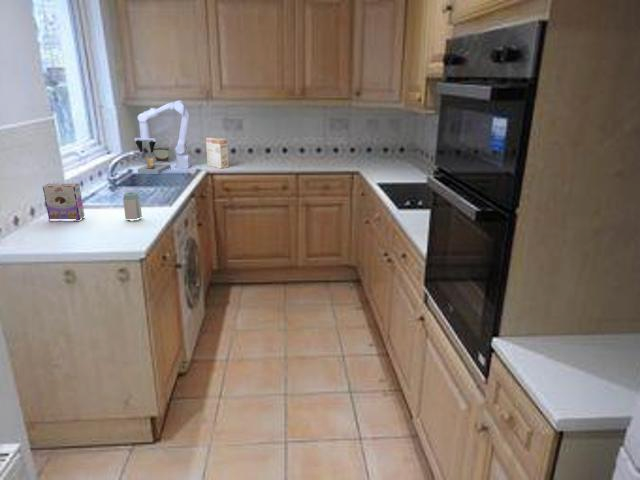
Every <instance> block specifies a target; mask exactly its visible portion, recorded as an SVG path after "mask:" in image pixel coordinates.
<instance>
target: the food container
mask: <svg viewBox="0 0 640 480" xmlns="http://www.w3.org/2000/svg"><path fill="white" fill-rule="evenodd" d="M170 151H171V148H170V147H168V146H154V149H153V153H154V157H155V162H157V163H170Z"/></svg>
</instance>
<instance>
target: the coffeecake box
mask: <svg viewBox="0 0 640 480" xmlns="http://www.w3.org/2000/svg"><path fill="white" fill-rule="evenodd" d="M205 146H206V161H207V162H206V163H207V167H213V168H218V169H227V168H229V148H228V138H224V137H223V138H222V137H216V136H215V137H214V136H209V137H205Z"/></svg>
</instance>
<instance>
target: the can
mask: <svg viewBox="0 0 640 480" xmlns="http://www.w3.org/2000/svg"><path fill="white" fill-rule="evenodd" d="M123 195H124V196H123V197H122V202H123V210H124V217H125V220H126V219H137V218H140V217H142V218H143V214H142V205H141V199H140V195H139V194H138V193H137V192H127V193H124V194H123Z"/></svg>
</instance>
